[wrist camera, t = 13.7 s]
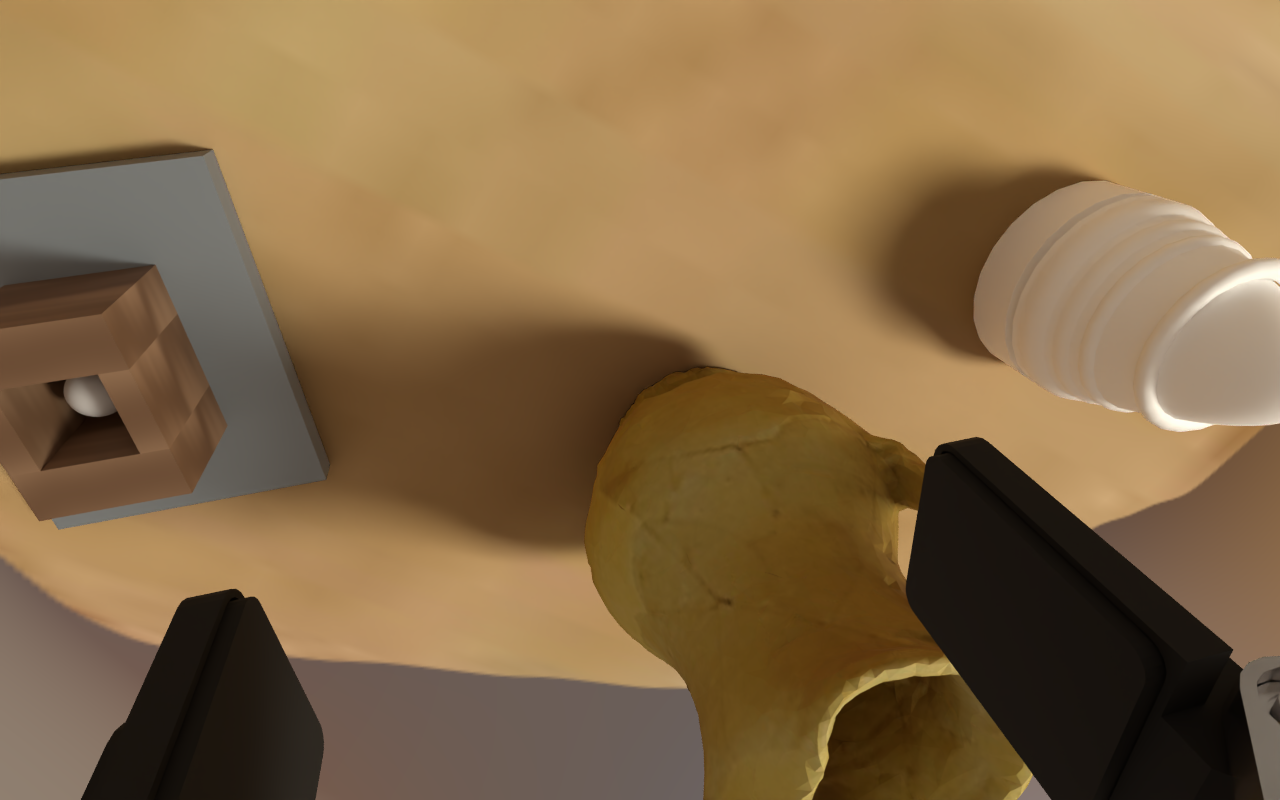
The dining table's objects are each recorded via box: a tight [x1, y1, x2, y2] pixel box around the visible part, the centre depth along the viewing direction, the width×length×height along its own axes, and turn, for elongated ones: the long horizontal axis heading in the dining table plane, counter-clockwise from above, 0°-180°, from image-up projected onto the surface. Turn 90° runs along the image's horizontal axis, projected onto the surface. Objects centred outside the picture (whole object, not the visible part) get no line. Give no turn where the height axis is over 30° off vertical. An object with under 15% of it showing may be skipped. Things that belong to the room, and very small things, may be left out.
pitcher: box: [584, 366, 1033, 800], centre depth 37 cm, size 17×19×25 cm
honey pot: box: [974, 181, 1280, 432], centre depth 39 cm, size 13×13×18 cm
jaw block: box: [0, 265, 228, 521], centre depth 32 cm, size 9×6×6 cm
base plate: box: [0, 150, 330, 530], centre depth 34 cm, size 18×14×6 cm
